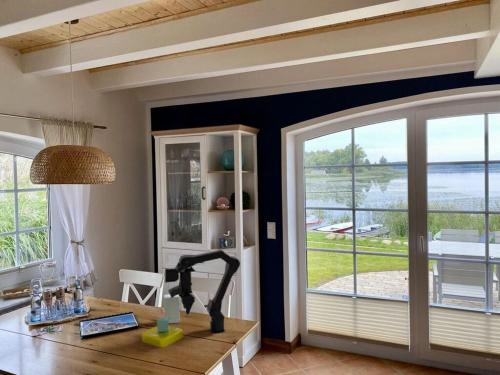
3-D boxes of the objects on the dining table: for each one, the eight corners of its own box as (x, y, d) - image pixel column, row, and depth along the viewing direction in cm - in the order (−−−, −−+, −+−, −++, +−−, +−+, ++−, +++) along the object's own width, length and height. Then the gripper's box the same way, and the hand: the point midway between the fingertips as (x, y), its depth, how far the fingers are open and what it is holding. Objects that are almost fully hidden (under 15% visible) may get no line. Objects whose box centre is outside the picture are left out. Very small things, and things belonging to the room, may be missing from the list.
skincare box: (179, 319, 213) (179, 292, 212) (180, 323, 207) (179, 296, 206) (164, 320, 211) (164, 294, 211) (164, 324, 205) (163, 297, 205)
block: (167, 326, 191) (167, 317, 190) (168, 330, 186) (168, 320, 186) (157, 328, 189) (157, 318, 189) (158, 332, 184) (158, 321, 184)
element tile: (140, 341, 184) (140, 332, 184) (162, 331, 197) (162, 322, 197) (162, 349, 176) (161, 338, 176) (184, 337, 189) (184, 328, 189)
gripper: (167, 277, 197) (168, 307, 197) (171, 287, 179) (172, 319, 180) (188, 275, 201) (189, 304, 201) (194, 284, 183) (195, 316, 183)
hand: (186, 311), depth 191 cm, fingers open, 9 cm apart
